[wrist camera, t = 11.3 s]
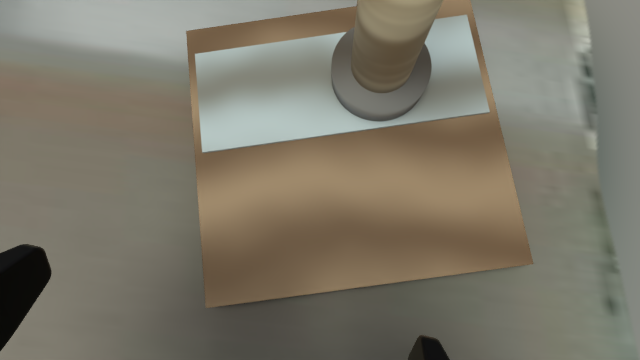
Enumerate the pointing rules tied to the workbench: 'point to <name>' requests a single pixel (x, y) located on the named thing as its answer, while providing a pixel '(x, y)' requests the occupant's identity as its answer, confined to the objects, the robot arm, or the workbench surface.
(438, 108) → the board
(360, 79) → the post
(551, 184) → the workbench surface
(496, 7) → the workbench surface
